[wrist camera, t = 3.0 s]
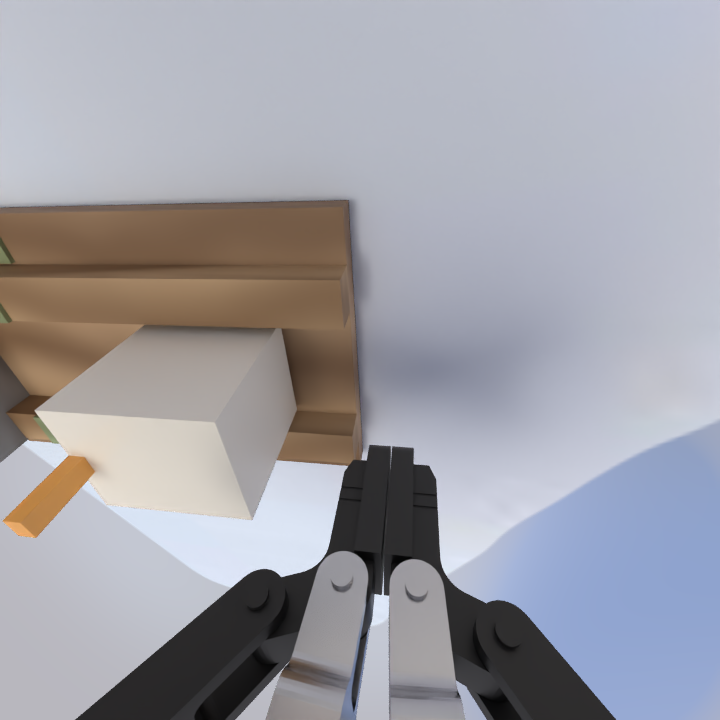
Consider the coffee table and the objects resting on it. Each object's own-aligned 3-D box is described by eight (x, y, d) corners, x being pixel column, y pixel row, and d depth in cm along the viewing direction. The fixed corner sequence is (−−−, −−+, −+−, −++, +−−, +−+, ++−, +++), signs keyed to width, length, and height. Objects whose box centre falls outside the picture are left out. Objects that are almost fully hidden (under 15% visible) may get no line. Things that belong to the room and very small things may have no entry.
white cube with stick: (151, 319, 16) (-49, 475, 9) (280, 322, 15) (166, 495, 8) (187, 402, 19) (55, 569, 12) (297, 409, 18) (223, 591, 11)
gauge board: (-124, 210, 16) (-367, 253, 11) (348, 200, 13) (306, 252, 8) (44, 427, 24) (-54, 509, 19) (362, 450, 21) (346, 555, 16)
